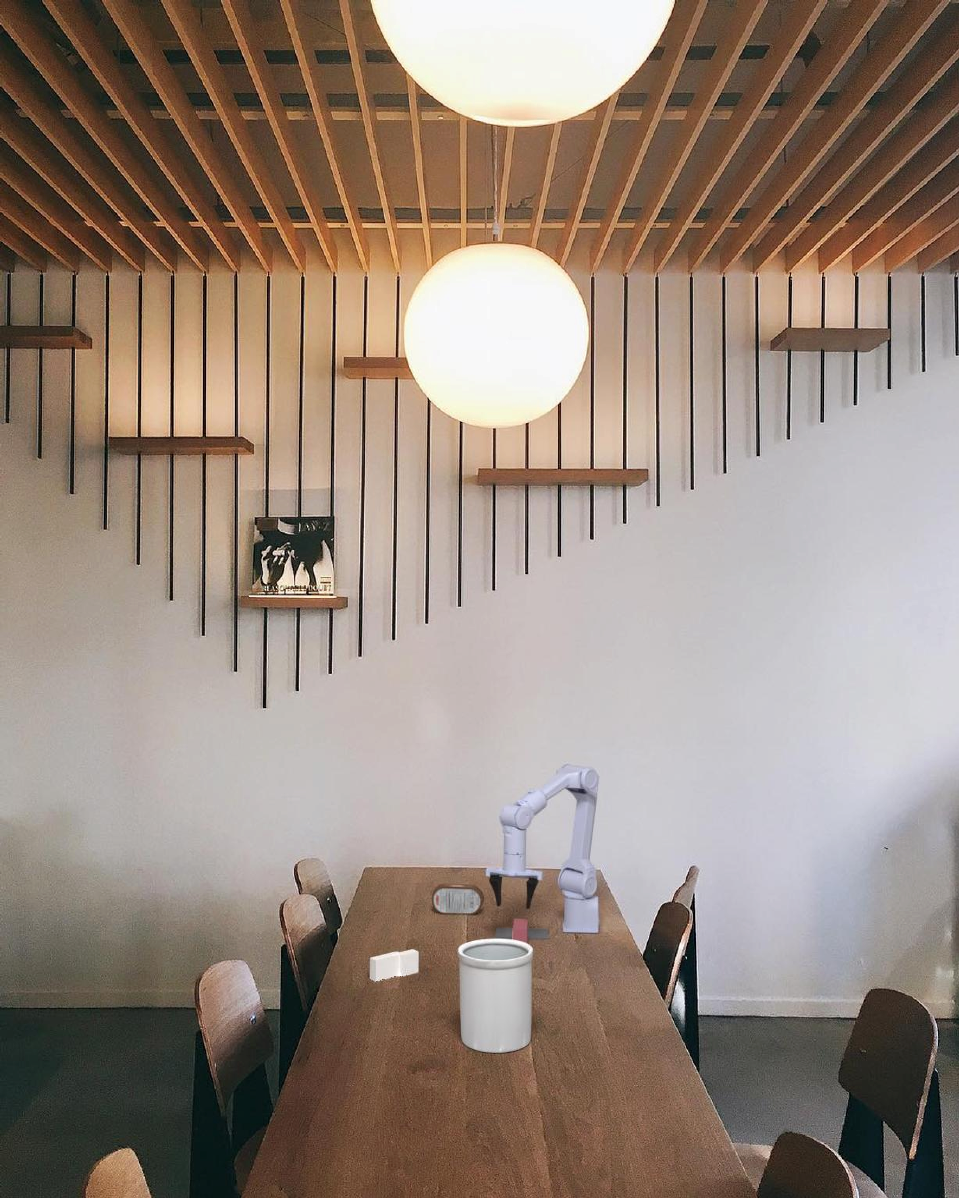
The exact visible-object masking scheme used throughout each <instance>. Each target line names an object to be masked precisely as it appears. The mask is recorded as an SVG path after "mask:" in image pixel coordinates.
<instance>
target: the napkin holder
mask: <svg viewBox="0 0 959 1198" xmlns="http://www.w3.org/2000/svg"><path fill="white" fill-rule="evenodd" d="M419 954H420V953H419V951H418V950H416V949H414V948H411V949H408V950H404V951H393V952H388V953H383V954H380V955H376V956H372V957H370V958H369V980H370V979H371V981H372V980H373V982H375V983H377V982H376V981H378V982H381V981H383V980H382V979H385V980H388V979H391V977H392V978H395V977H394V976H396V977H399V978H400V976H401V977H402V976H403V977H407V976H410V975H414V974H418V973H419V960H420V957H419ZM406 975H407V976H406ZM380 980H381V981H380Z"/></svg>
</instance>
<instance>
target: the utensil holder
mask: <svg viewBox="0 0 959 1198" xmlns="http://www.w3.org/2000/svg"><path fill="white" fill-rule="evenodd" d="M457 957H458V959H459V1009H460V1010H459V1011H460V1012H459V1015H460V1034H461V1041H462V1043H463V1045H465V1046H466V1047H467V1048H470V1049H471V1050H475V1051H478V1052H483V1053H495V1054H501V1053H502V1054H503V1053H508V1052H515V1051H517V1050H520V1049H523V1048H525V1047H526V1046H528V1045H529V1044H530V1042H531V1038H532V1005H533V1003H532V992H533V991H532V989H533V988H532V985H533V983H532V980H533V979H532V978H533V975H532V974H533V973H532V971H533V970H532V968H533V967H532V965H533V963H532V962H533V957H534V950H533V947H532V946H531V945H530V943H529V944H527V943H525V942H521V941H517V940H512V938H485V939H482V938H481V939H476V940H472V941H469V942H465V943H462V944H461V945H459V947H458V948H457Z"/></svg>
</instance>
